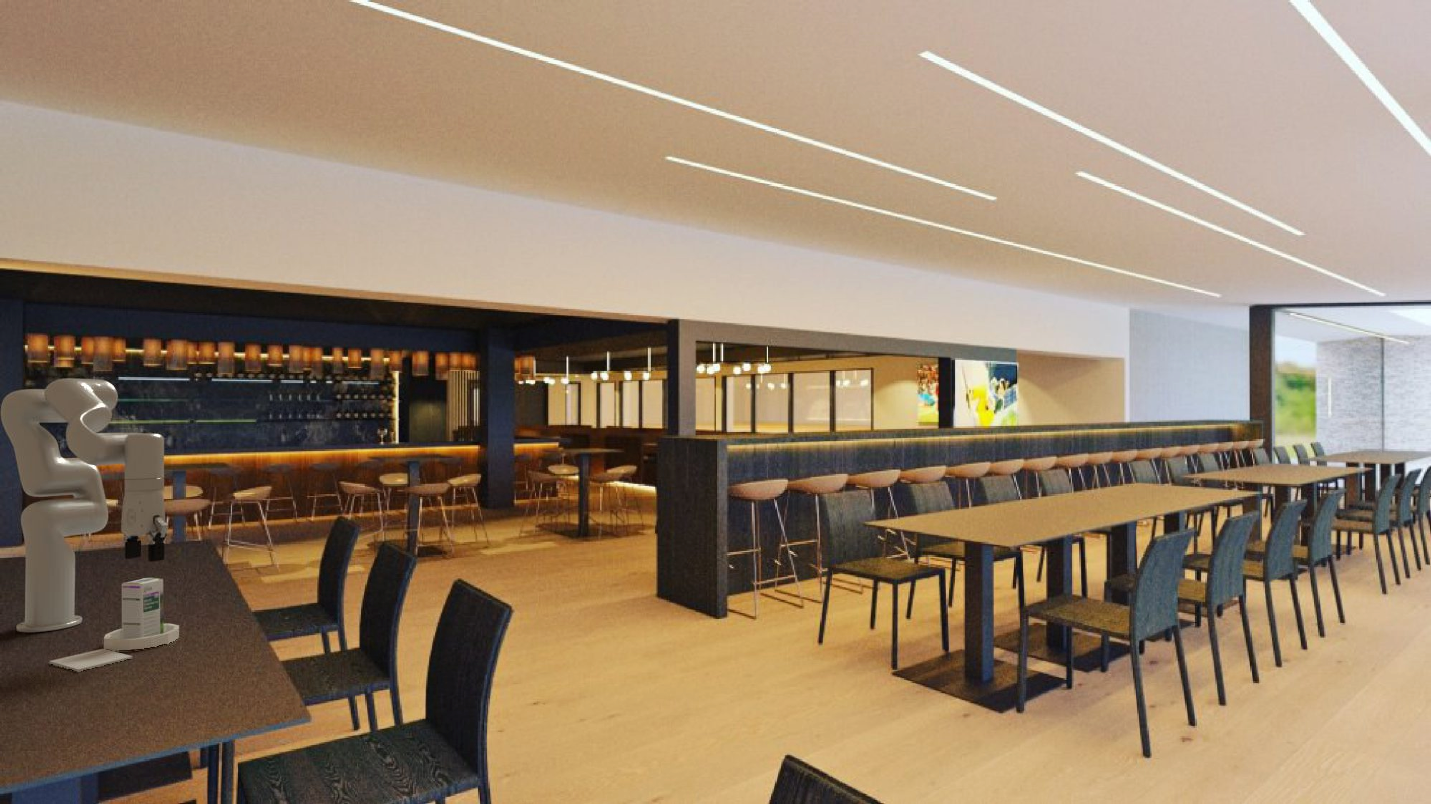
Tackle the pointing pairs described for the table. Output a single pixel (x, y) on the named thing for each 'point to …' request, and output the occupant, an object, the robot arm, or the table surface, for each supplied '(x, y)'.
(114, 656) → the mat
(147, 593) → the syrup box
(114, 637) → the ring dish
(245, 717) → the table surface
